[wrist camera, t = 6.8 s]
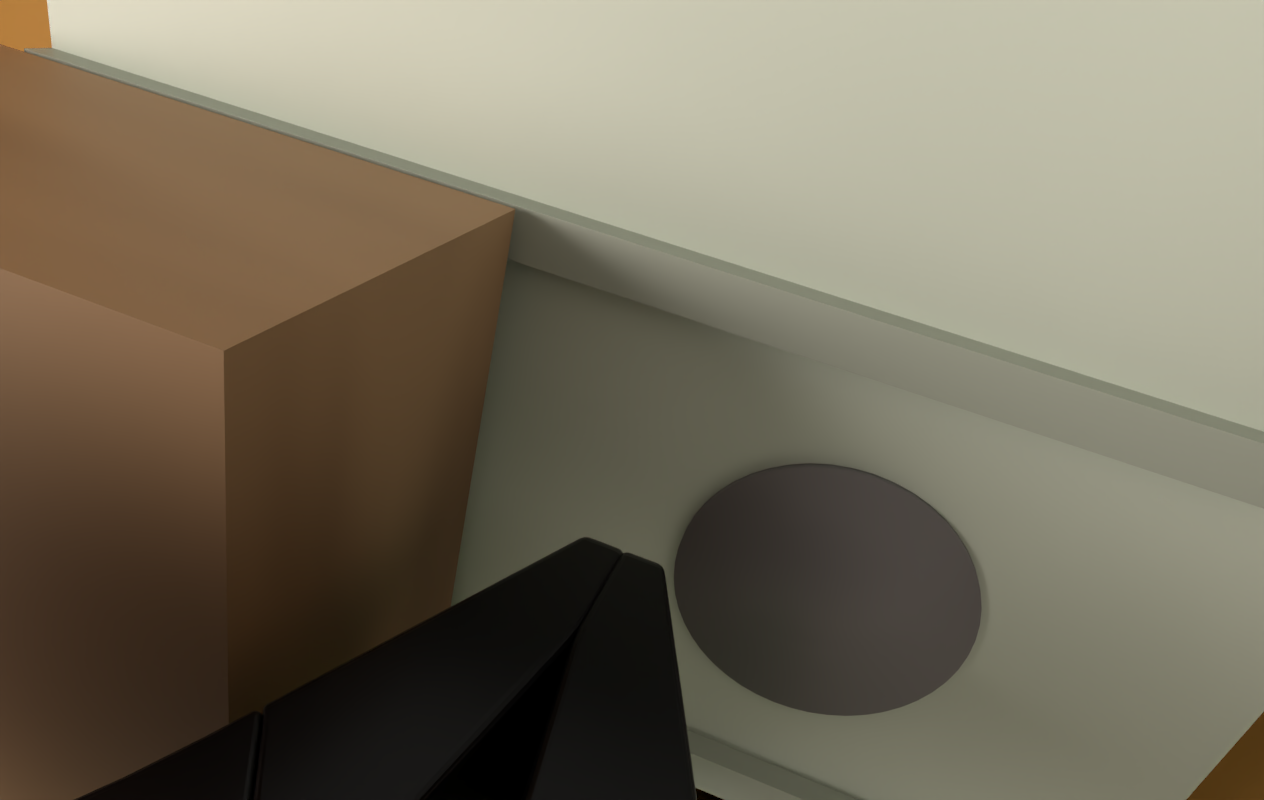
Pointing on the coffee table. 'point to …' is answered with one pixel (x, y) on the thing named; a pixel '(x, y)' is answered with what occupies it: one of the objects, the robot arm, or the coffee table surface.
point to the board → (842, 348)
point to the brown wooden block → (215, 416)
